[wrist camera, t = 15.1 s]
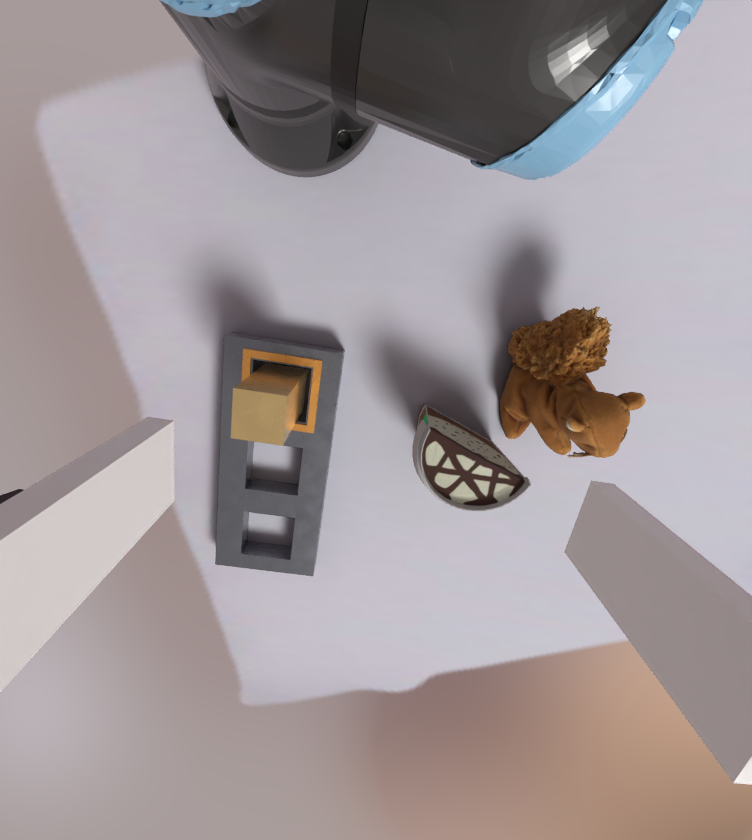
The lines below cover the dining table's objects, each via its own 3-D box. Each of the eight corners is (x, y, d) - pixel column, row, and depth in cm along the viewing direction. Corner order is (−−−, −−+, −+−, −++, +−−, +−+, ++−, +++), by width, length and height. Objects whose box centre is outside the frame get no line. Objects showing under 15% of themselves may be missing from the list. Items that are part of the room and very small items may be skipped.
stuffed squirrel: (504, 441, 46) (553, 499, 34) (479, 324, 42) (526, 340, 30) (589, 418, 46) (671, 468, 33) (573, 296, 41) (661, 300, 29)
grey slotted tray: (232, 332, 42) (223, 335, 39) (344, 350, 43) (343, 354, 40) (222, 551, 51) (214, 565, 48) (315, 562, 51) (312, 577, 49)
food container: (385, 440, 46) (389, 480, 37) (413, 396, 44) (424, 426, 35) (472, 486, 48) (497, 536, 39) (502, 446, 47) (535, 487, 37)
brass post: (266, 363, 43) (233, 388, 33) (307, 369, 43) (287, 396, 33) (263, 402, 44) (230, 438, 34) (303, 408, 45) (282, 445, 34)
